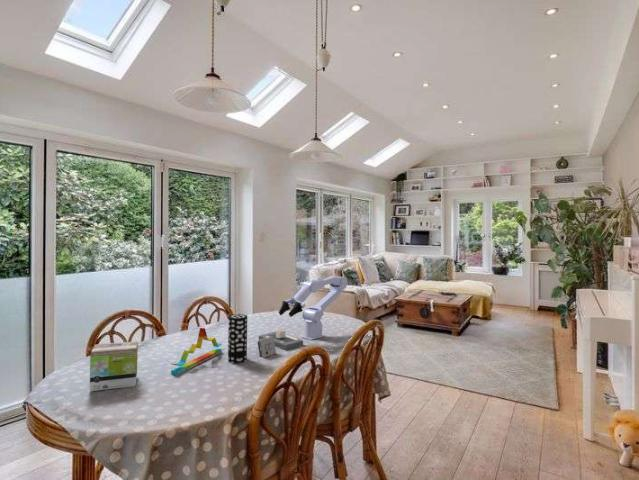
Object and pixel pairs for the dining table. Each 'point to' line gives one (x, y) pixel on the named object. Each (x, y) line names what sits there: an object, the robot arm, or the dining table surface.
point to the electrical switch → (266, 347)
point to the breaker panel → (283, 341)
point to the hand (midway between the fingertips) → (284, 314)
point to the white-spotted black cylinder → (237, 338)
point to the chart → (198, 360)
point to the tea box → (113, 365)
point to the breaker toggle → (280, 333)
